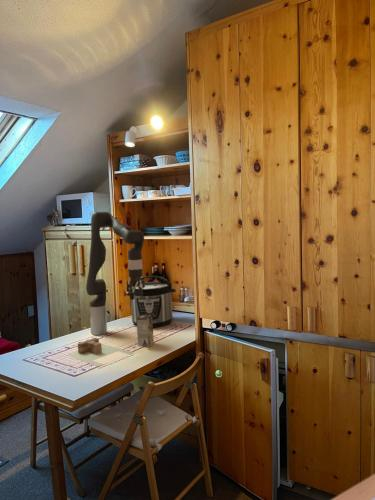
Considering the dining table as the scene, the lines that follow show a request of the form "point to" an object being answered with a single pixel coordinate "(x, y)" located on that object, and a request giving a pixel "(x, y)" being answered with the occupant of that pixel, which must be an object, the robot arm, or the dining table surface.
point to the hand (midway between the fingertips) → (136, 297)
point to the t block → (90, 346)
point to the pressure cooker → (153, 301)
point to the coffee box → (145, 330)
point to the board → (102, 355)
